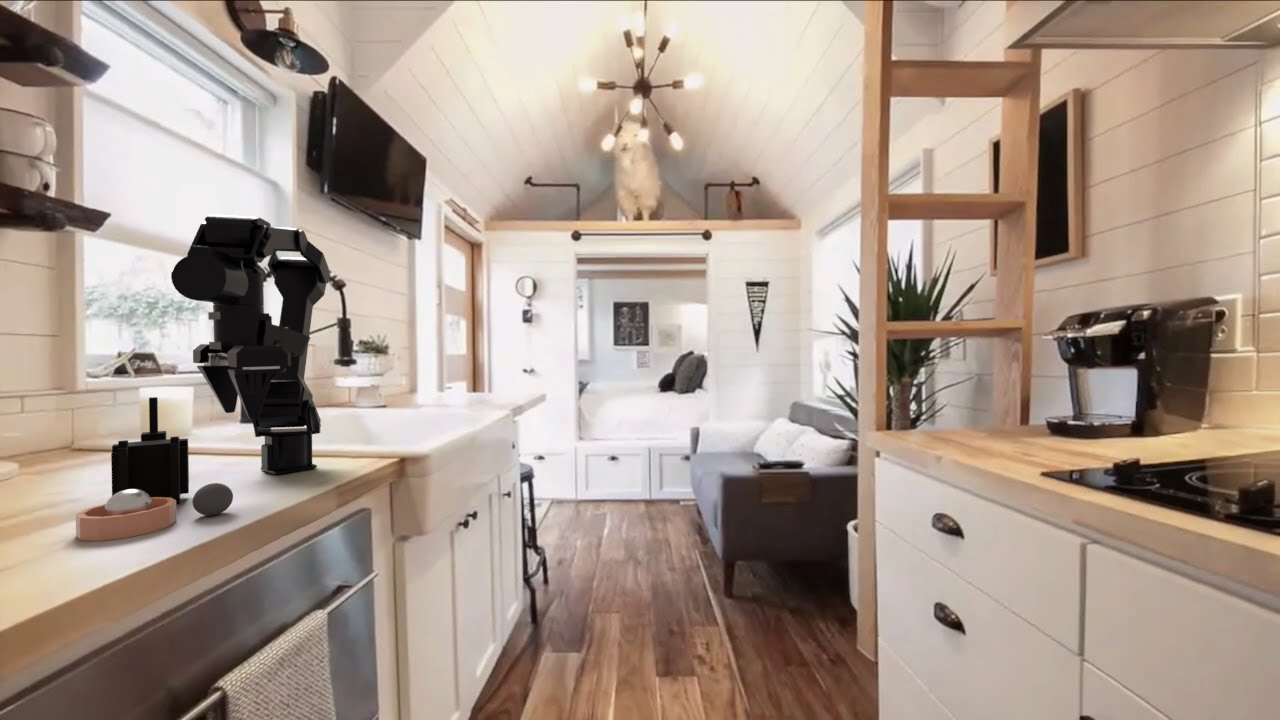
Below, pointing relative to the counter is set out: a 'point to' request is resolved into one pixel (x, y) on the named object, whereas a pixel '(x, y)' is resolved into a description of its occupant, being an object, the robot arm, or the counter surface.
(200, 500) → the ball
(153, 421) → the toy
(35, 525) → the counter surface
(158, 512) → the dish
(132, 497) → the steel ball
